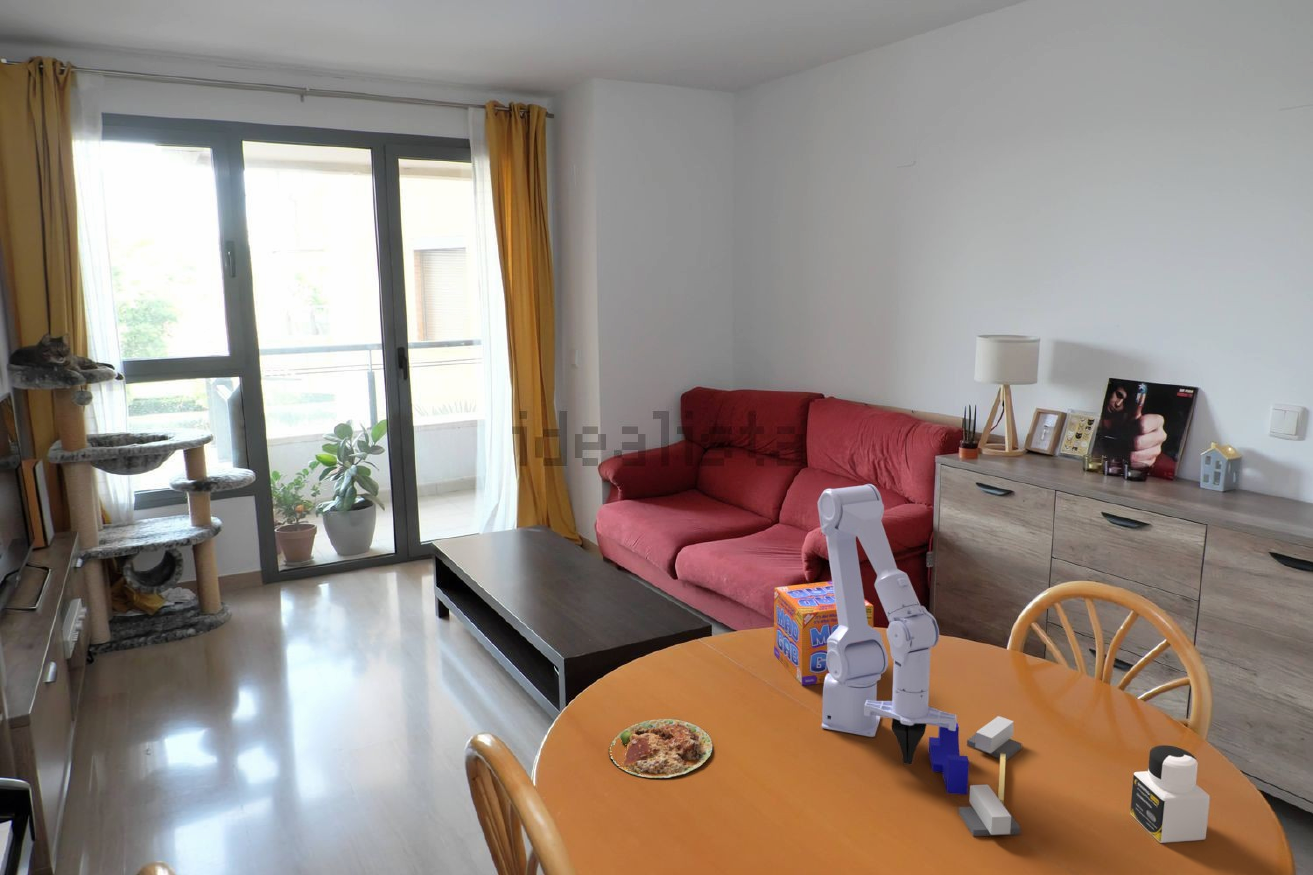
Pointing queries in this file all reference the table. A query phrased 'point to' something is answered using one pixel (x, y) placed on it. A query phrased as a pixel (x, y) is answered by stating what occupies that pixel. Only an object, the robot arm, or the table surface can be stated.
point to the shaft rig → (986, 806)
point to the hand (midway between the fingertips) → (908, 760)
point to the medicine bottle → (1170, 797)
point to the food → (663, 747)
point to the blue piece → (949, 760)
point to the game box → (806, 628)
